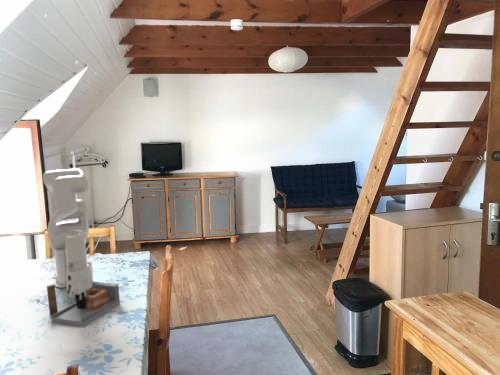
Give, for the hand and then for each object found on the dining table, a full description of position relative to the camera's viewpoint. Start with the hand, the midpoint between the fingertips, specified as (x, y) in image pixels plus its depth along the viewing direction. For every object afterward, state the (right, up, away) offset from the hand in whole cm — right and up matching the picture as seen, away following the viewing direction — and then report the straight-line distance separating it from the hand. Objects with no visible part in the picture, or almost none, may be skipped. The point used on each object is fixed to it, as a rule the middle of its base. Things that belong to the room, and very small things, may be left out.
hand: (81, 307), depth 169 cm
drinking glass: (-6, -1, +22) cm, 23 cm away
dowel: (-13, -4, +4) cm, 15 cm away
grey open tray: (+1, -3, +3) cm, 5 cm away
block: (+2, 0, +7) cm, 7 cm away
